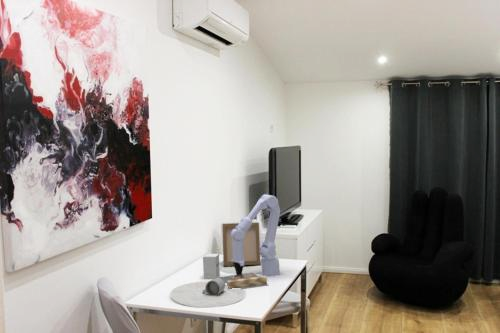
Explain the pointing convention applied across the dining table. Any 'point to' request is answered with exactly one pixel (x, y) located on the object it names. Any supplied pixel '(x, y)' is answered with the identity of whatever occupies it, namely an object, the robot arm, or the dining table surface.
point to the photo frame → (249, 244)
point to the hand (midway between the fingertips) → (239, 276)
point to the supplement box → (211, 266)
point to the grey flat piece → (241, 276)
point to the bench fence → (247, 282)
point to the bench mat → (227, 278)
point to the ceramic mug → (214, 286)
